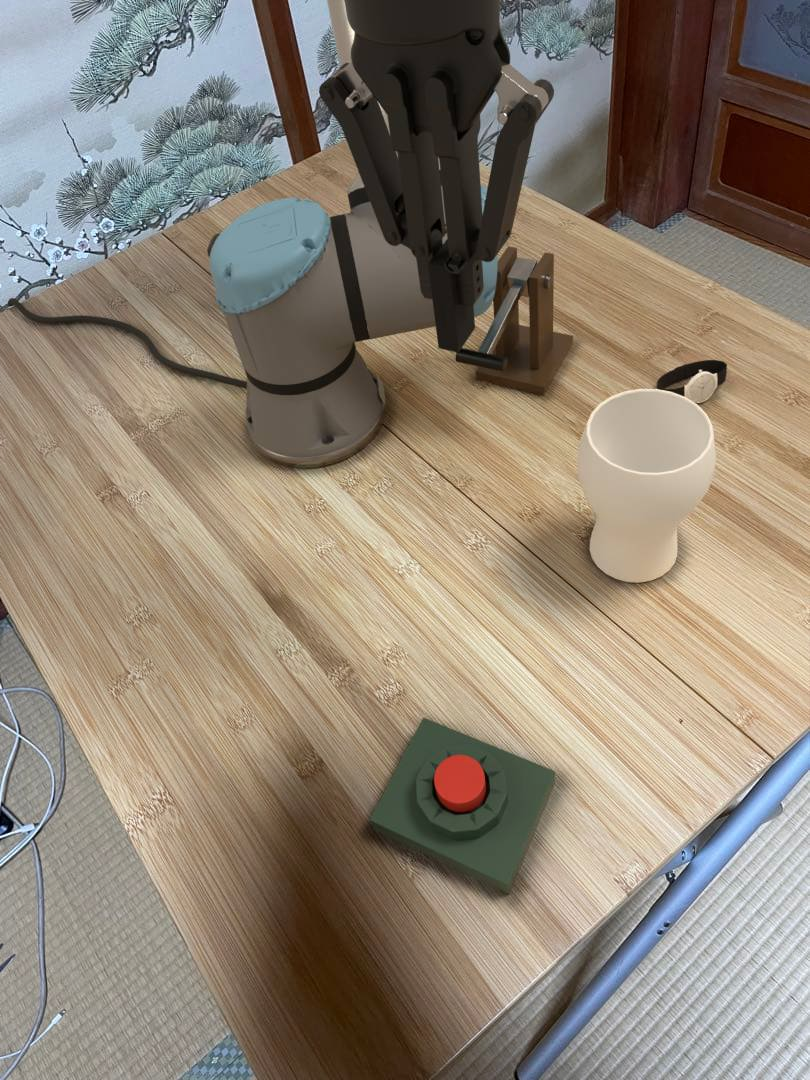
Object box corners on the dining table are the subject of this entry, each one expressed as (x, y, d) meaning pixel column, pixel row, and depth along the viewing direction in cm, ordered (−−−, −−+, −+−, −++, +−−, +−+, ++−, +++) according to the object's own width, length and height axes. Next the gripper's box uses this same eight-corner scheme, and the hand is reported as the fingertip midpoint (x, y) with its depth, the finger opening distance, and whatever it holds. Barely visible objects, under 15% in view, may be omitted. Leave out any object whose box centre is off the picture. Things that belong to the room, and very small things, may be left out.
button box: (373, 830, 63) (365, 811, 60) (426, 729, 67) (420, 706, 64) (509, 895, 59) (507, 878, 56) (555, 782, 63) (555, 761, 60)
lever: (503, 378, 81) (500, 362, 79) (457, 367, 83) (453, 352, 81) (551, 279, 86) (550, 262, 84) (506, 272, 88) (504, 254, 85)
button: (428, 800, 60) (425, 791, 59) (449, 757, 62) (447, 747, 61) (473, 820, 59) (472, 811, 57) (493, 776, 61) (492, 766, 59)
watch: (669, 417, 85) (674, 390, 83) (644, 390, 88) (647, 363, 85) (734, 391, 86) (741, 364, 84) (708, 365, 89) (713, 338, 87)
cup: (667, 614, 71) (691, 499, 59) (553, 569, 76) (555, 454, 64) (711, 527, 76) (741, 405, 64) (602, 490, 81) (612, 369, 69)
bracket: (543, 395, 90) (543, 294, 80) (476, 379, 93) (467, 280, 83) (573, 344, 94) (576, 243, 84) (507, 330, 97) (503, 231, 87)
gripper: (253, -50, 39) (347, 353, 57) (516, -43, 34) (526, 395, 52) (334, -106, 42) (397, 288, 61) (580, -107, 37) (568, 322, 56)
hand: (456, 337), depth 56 cm, fingers closed
